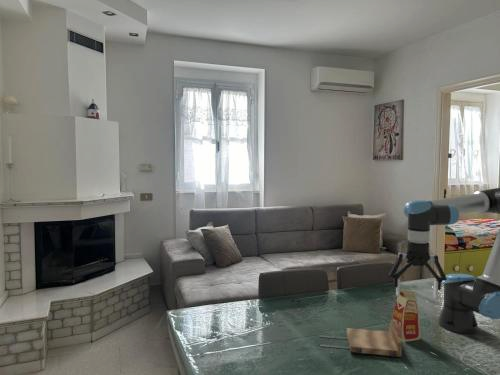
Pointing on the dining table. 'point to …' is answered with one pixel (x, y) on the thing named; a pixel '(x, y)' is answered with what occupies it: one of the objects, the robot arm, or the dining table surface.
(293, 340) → the dining table surface
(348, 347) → the rails
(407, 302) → the milk carton
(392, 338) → the cart
